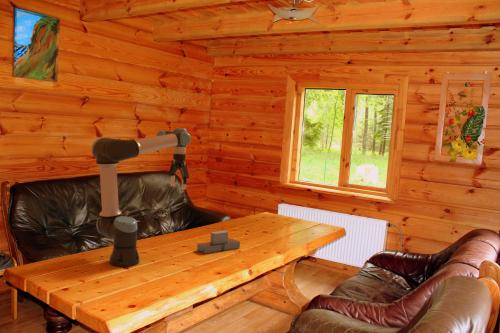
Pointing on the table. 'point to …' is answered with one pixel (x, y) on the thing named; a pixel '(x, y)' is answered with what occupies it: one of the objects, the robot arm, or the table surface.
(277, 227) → the table surface
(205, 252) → the block with rectangular hole
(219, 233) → the upright grey box
